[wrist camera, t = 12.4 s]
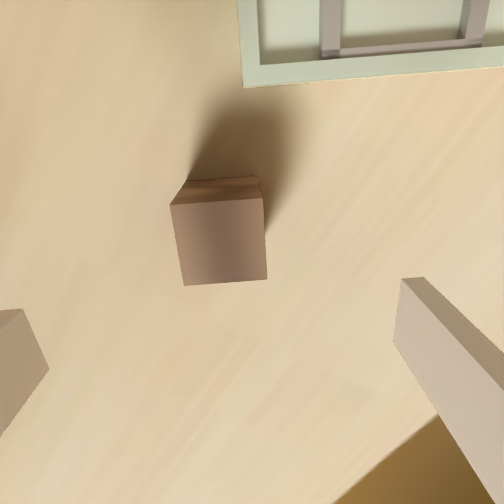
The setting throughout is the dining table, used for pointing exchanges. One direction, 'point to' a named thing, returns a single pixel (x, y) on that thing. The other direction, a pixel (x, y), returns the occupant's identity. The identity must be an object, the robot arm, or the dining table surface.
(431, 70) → the tray
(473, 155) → the dining table surface
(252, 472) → the dining table surface
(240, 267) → the block
